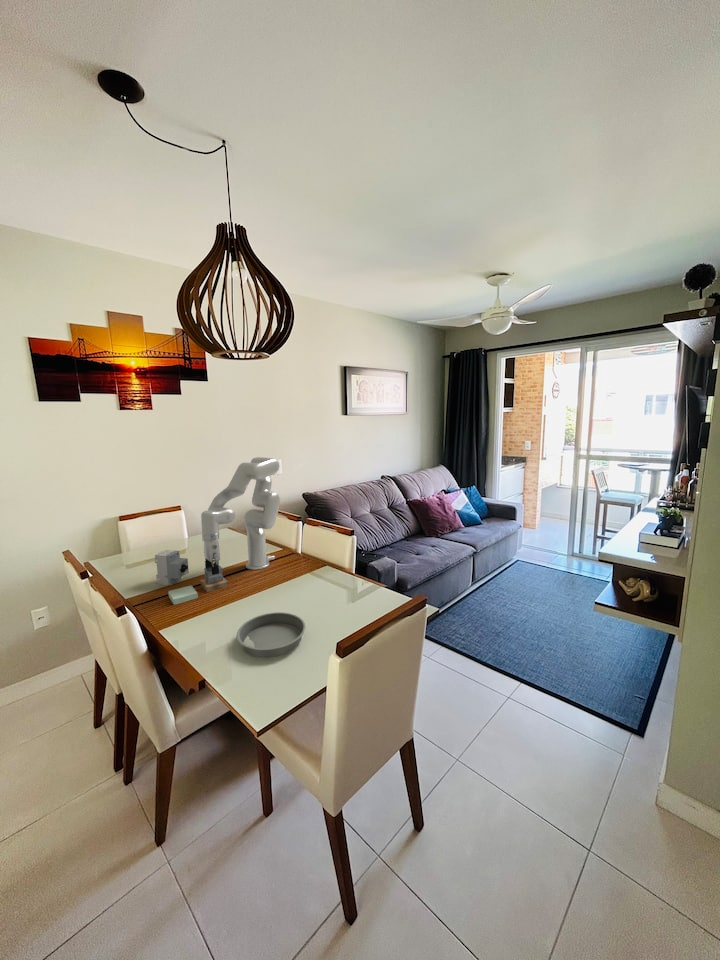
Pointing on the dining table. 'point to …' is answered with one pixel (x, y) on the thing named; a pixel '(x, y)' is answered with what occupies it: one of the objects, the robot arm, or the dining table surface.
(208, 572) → the block
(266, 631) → the cake pan
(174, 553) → the circuit breaker
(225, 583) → the stand walnut
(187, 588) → the stand green
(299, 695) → the dining table surface
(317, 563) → the dining table surface
